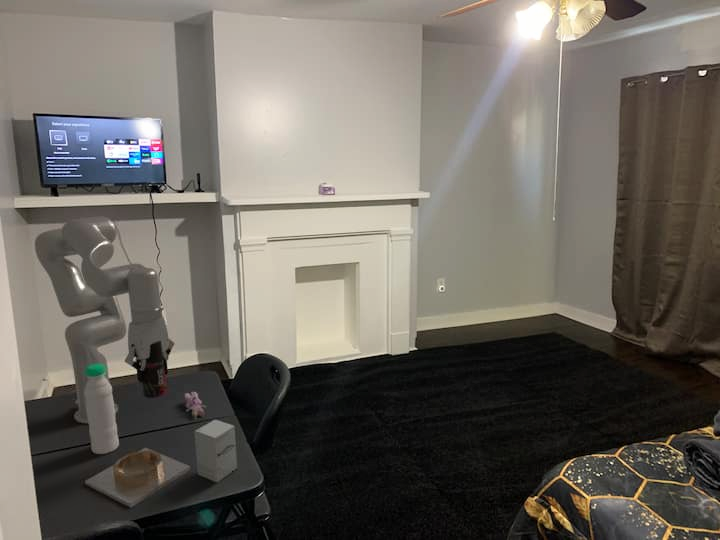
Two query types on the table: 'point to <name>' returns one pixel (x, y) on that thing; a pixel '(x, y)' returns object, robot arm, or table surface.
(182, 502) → the table surface
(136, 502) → the base
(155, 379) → the deodorant
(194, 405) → the pink plush toy
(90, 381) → the water bottle
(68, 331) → the robot arm
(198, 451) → the supplement box
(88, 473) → the table surface
